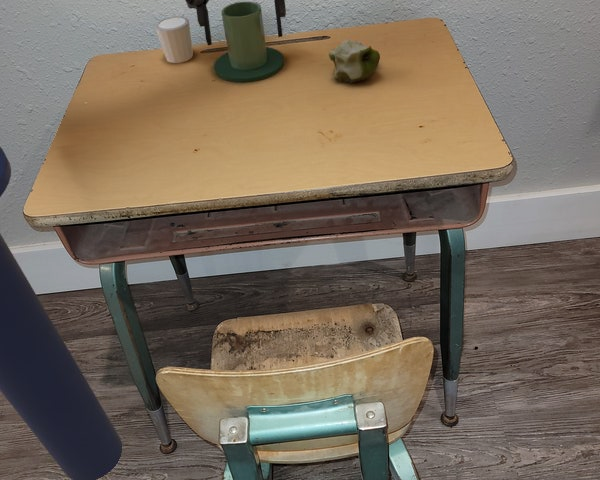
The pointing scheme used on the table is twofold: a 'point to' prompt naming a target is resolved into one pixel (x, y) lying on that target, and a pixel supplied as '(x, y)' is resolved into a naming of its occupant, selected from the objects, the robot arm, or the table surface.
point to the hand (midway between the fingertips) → (244, 38)
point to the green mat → (265, 71)
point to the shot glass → (175, 38)
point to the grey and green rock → (354, 61)
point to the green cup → (244, 35)
